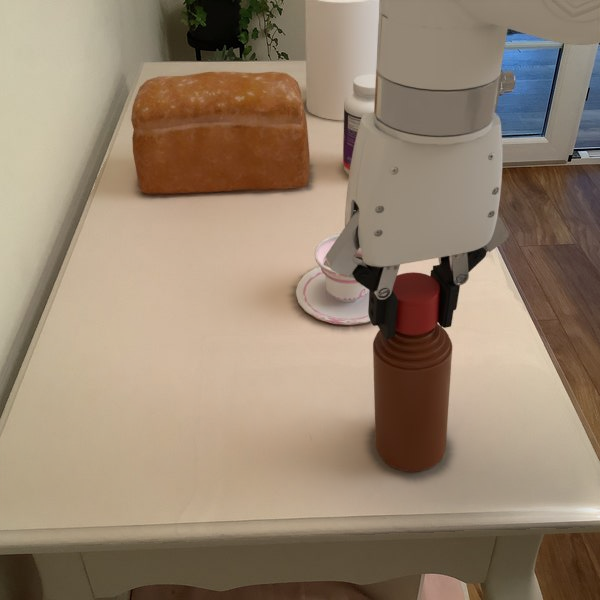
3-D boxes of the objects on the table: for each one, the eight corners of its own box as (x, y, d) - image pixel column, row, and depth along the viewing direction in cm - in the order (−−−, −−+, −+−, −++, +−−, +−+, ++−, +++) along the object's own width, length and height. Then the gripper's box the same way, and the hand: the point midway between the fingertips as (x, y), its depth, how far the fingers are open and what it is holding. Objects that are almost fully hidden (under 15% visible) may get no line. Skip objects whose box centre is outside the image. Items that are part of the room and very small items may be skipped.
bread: (147, 158, 110) (130, 62, 101) (306, 152, 111) (305, 56, 102) (136, 200, 99) (116, 97, 90) (312, 192, 100) (311, 89, 91)
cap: (429, 300, 55) (431, 268, 53) (446, 330, 52) (448, 297, 50) (381, 308, 55) (381, 276, 53) (395, 339, 52) (395, 306, 50)
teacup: (385, 335, 74) (389, 290, 71) (282, 316, 77) (280, 272, 74) (404, 274, 83) (408, 231, 80) (311, 259, 86) (311, 218, 83)
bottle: (453, 428, 63) (464, 279, 53) (435, 480, 58) (444, 327, 48) (387, 411, 65) (386, 266, 55) (366, 460, 61) (360, 311, 51)
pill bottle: (360, 155, 110) (363, 67, 101) (403, 167, 106) (410, 77, 97) (332, 174, 105) (333, 83, 96) (377, 188, 101) (382, 94, 92)
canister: (336, 87, 134) (338, -21, 122) (392, 103, 127) (400, -10, 115) (291, 108, 126) (288, -6, 114) (349, 126, 119) (352, 7, 107)
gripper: (523, 65, 47) (484, 278, 58) (290, 93, 44) (297, 313, 55) (586, 104, 41) (530, 332, 52) (324, 140, 38) (323, 375, 49)
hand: (411, 320), depth 53 cm, fingers closed on cap, 4 cm apart
